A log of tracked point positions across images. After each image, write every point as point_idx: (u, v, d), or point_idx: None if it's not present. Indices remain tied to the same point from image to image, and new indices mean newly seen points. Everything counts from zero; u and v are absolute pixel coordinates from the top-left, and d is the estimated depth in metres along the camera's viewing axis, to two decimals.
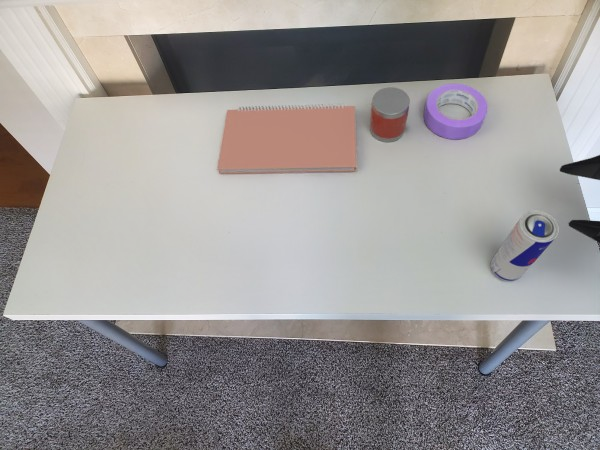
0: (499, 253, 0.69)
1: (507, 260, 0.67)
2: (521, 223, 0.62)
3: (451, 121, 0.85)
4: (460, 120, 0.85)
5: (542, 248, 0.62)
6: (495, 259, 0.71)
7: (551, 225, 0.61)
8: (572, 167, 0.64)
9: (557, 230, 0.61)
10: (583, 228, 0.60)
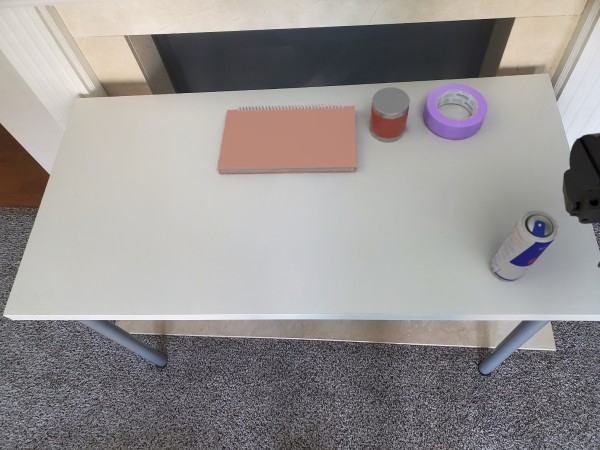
0: (499, 253, 0.69)
1: (507, 260, 0.67)
2: (521, 223, 0.62)
3: (451, 121, 0.85)
4: (460, 120, 0.85)
5: (542, 248, 0.62)
6: (495, 259, 0.71)
7: (551, 225, 0.61)
8: None
9: (557, 230, 0.61)
10: None
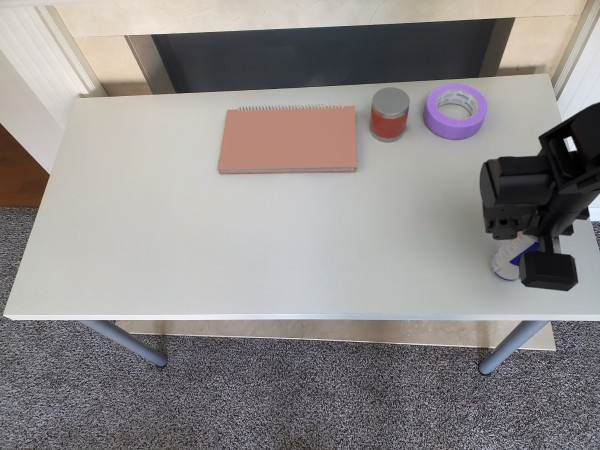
0: (499, 253, 0.69)
1: (507, 260, 0.68)
2: None
3: (451, 121, 0.85)
4: (460, 120, 0.85)
5: None
6: (495, 259, 0.71)
7: None
8: None
9: None
10: None
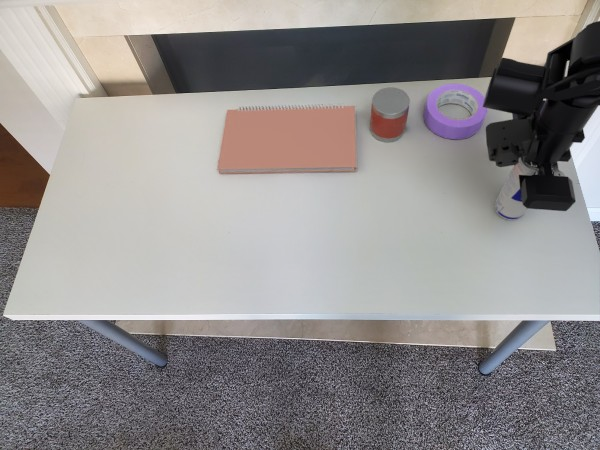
0: (502, 192, 0.75)
1: (509, 197, 0.73)
2: (521, 157, 0.67)
3: (451, 121, 0.85)
4: (460, 120, 0.85)
5: None
6: (498, 199, 0.77)
7: None
8: None
9: None
10: None
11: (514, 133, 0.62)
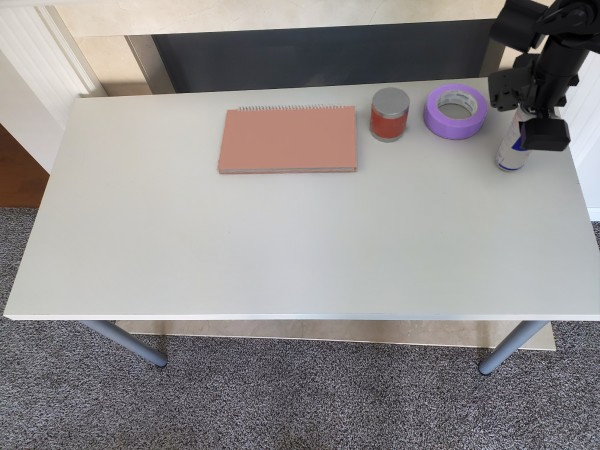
0: (502, 143, 0.80)
1: (509, 147, 0.78)
2: (521, 106, 0.72)
3: (451, 121, 0.85)
4: (460, 120, 0.85)
5: None
6: (499, 151, 0.81)
7: None
8: None
9: None
10: None
11: (514, 80, 0.67)
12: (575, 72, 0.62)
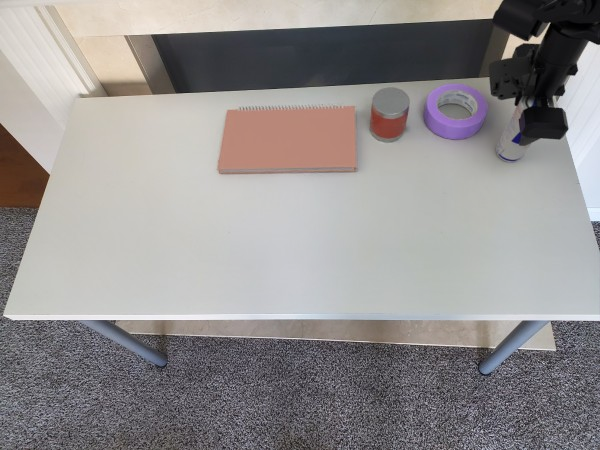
0: (503, 135, 0.80)
1: (509, 140, 0.79)
2: (522, 102, 0.72)
3: (451, 121, 0.85)
4: (460, 120, 0.85)
5: None
6: (499, 142, 0.82)
7: None
8: (516, 100, 0.80)
9: None
10: (526, 142, 0.75)
11: (514, 69, 0.69)
12: (573, 62, 0.64)
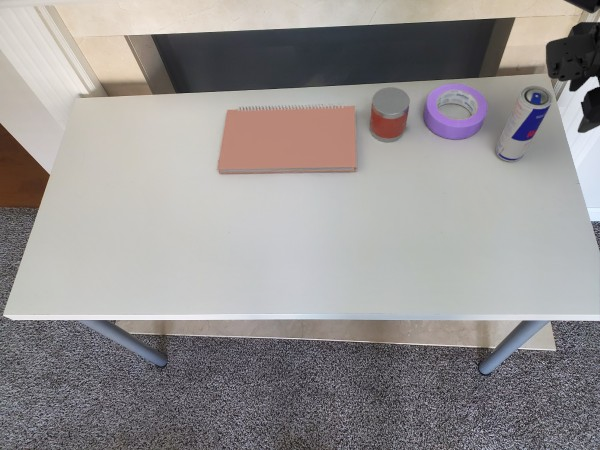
0: (502, 133, 0.81)
1: (509, 137, 0.79)
2: (521, 96, 0.73)
3: (451, 121, 0.85)
4: (460, 120, 0.85)
5: (539, 117, 0.73)
6: (499, 141, 0.83)
7: (546, 96, 0.72)
8: (571, 85, 0.74)
9: (551, 100, 0.72)
10: (586, 128, 0.69)
11: (576, 47, 0.63)
12: None
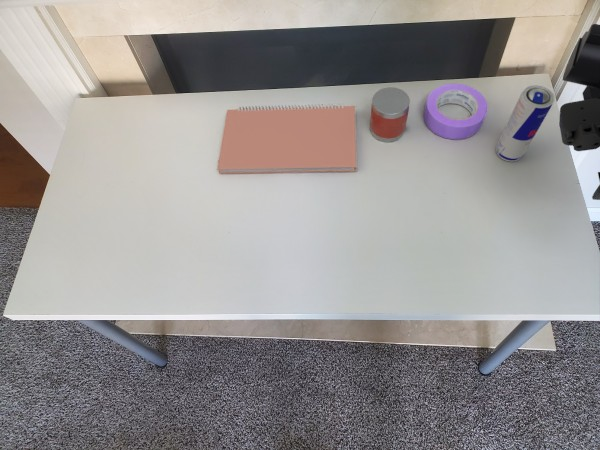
0: (503, 133, 0.81)
1: (510, 136, 0.79)
2: (523, 95, 0.73)
3: (451, 121, 0.85)
4: (460, 120, 0.85)
5: (540, 116, 0.73)
6: (500, 141, 0.83)
7: (548, 95, 0.72)
8: None
9: (553, 99, 0.72)
10: None
11: (595, 114, 0.56)
12: None
